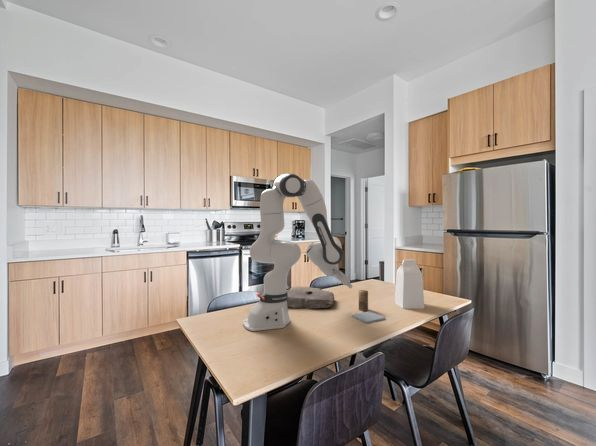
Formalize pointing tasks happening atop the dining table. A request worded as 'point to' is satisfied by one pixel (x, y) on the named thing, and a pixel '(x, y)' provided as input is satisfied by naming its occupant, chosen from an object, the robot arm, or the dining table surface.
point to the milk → (409, 286)
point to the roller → (363, 300)
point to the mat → (368, 317)
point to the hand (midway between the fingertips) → (347, 284)
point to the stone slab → (309, 298)
